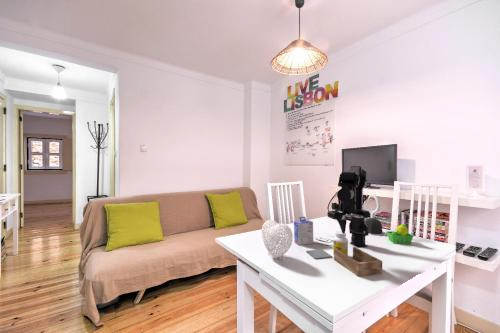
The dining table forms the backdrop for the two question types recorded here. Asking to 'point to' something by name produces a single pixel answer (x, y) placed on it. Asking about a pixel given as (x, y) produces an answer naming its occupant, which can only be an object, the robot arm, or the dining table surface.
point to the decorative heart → (276, 238)
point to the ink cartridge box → (303, 231)
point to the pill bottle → (340, 242)
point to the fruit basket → (400, 235)
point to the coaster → (319, 254)
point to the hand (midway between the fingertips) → (348, 233)
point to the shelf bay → (365, 264)
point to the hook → (374, 219)
